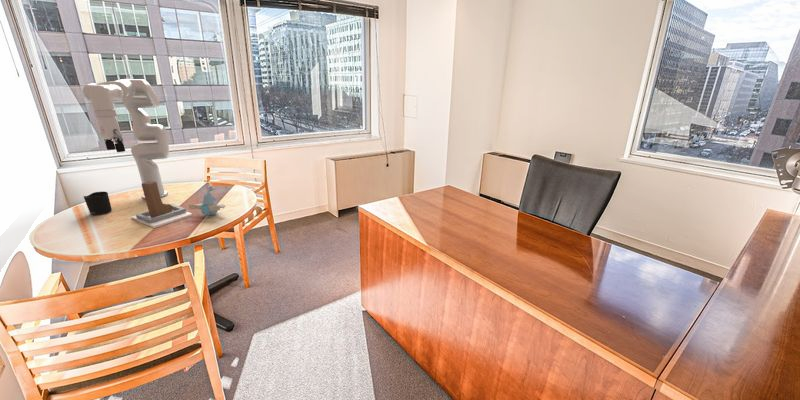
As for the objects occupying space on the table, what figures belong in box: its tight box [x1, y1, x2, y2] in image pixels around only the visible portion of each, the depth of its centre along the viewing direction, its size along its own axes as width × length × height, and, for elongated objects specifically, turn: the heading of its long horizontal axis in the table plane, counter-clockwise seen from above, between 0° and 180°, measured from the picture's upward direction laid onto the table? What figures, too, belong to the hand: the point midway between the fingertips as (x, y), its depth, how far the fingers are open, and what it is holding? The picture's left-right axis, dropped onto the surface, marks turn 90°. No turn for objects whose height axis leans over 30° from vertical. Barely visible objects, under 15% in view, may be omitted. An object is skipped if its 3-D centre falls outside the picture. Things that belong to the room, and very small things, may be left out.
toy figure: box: [188, 184, 226, 216], centre depth 172 cm, size 17×10×15 cm, turn 84°
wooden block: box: [141, 181, 172, 218], centre depth 167 cm, size 9×4×18 cm, turn 168°
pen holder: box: [83, 191, 113, 216], centre depth 174 cm, size 9×9×10 cm
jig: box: [130, 203, 193, 229], centre depth 170 cm, size 22×18×3 cm
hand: (116, 150), depth 158 cm, fingers open, 9 cm apart
